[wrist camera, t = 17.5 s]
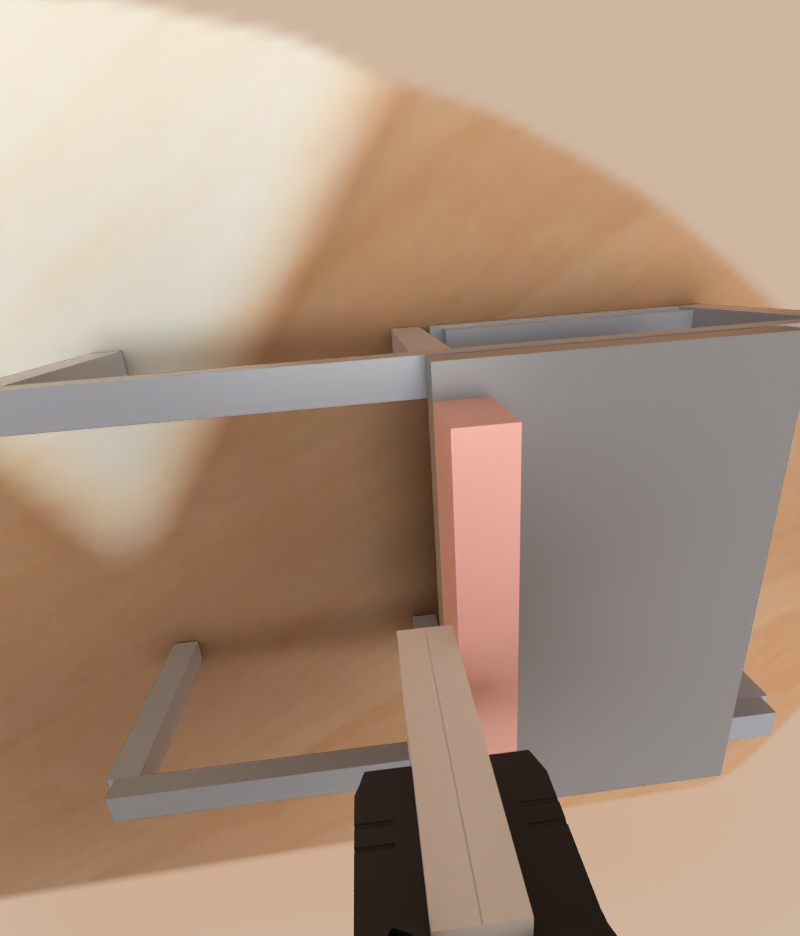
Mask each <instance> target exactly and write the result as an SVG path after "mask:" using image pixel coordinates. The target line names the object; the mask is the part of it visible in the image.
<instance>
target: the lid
mask: <svg viewBox="0 0 800 936" xmlns="http://www.w3.org/2000/svg"><path fill="white" fill-rule="evenodd" d="M425 357H426V376H427V395H428V414H429V433H430V452H431V471H432V490H433V509H434V528H435V547H436V566H437V585H438V604H439V623H440V626H444V625H452V626H453V630H454V633H455V637H456V640H457V644H458V647H459V650H460V654H461V658H462V661H463V665H464V668H465V672H466V676H467V679H468V683H469V686H470V690H471V693H472V697H473V701H474V704H475V708H476V711H477V715H478V719H479V722H480V726H481V729H482V733H483V737H484V740H485V744H486V747H487V751H488V754H489V755H490V754H498V753H506V752H514V751H522V750H529V751H530V752H531V753H532V754H533V755H534V756H535V757H536V759H537V760H538V761H539V762H540V763H541V764H542V766H543V767H544V768H545V769H546V770H547V772H548V775H549V777H550V780H551V782H552V785H553V788H554V790H555V793H556V795H557V798H558V797H565V796H573V795H580V794H587V793H595V792H602V791H609V790H617V789H624V788H631V787H639V786H646V785H653V784H661V783H668V782H675V781H683V780H690V779H697V778H705V777H712V776H719V775H721V770H722V765H723V761H724V756H725V751H726V747H727V742H728V737H729V733H730V728H731V723H732V719H733V714H734V709H735V705H736V700H737V695H738V691H739V686H740V681H741V677H742V672H743V667H744V663H745V658H746V653H747V649H748V644H749V639H750V635H751V630H752V625H753V621H754V616H755V611H756V607H757V602H758V597H759V593H760V588H761V583H762V579H763V574H764V569H765V565H766V560H767V555H768V551H769V546H770V541H771V537H772V532H773V527H774V523H775V518H776V513H777V509H778V504H779V499H780V495H781V490H782V485H783V481H784V476H785V471H786V467H787V462H788V457H789V453H790V448H791V444H792V439H793V434H794V430H795V425H796V420H797V416H798V411H799V406H800V327H792V326H776V327H764V328H752V329H741V330H729V331H717V332H705V333H694V334H682V335H670V336H658V337H647V338H635V339H623V340H611V341H600V342H588V343H576V344H564V345H553V346H541V347H529V348H517V349H506V350H494V351H482V352H470V353H458V354H447V355H435V356H425Z"/></svg>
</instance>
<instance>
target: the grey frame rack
mask: <svg viewBox="0 0 800 936" xmlns="http://www.w3.org/2000/svg"><path fill="white" fill-rule="evenodd" d="M776 326H792V327H800V310H789V309H773V308H757V307H741V306H726V305H710V304H688V305H676V306H663V307H651V308H639V309H627V310H614V311H602V312H590V313H578V314H566V315H553V316H541V317H529V318H517V319H504V320H492V321H480V322H468V323H455V324H443V325H431V326H428V332H426V331H425V330H423V329H422V328H420V327H406V328H394V329H391V338H392V351H393V353H391V354H379V355H367V356H355V357H343V358H331V359H319V360H308V361H296V362H284V363H272V364H260V365H248V366H237V367H225V368H213V369H201V370H189V371H177V372H166V373H154V374H142V375H130V376H128V373H127V369H126V365H125V362H124V358H123V354H122V351H113V352H100V353H91V354H87V355H83V356H80V357H76V358H72V359H69V360H65V361H61V362H58V363H54V364H50V365H46V366H43V367H39V368H35V369H32V370H28V371H24V372H21V373H17V374H13V375H10V376H6V377H2V378H0V437H2V436H13V435H24V434H35V433H46V432H58V431H69V430H80V429H91V428H102V427H113V426H124V425H136V424H147V423H158V422H169V421H180V420H191V419H202V418H214V417H225V416H236V415H247V414H258V413H269V412H280V411H291V410H303V409H314V408H325V407H336V406H347V405H358V404H369V403H381V402H392V401H403V400H414V399H425V398H428V395H427V376H426V357H425V356H435V355H447V354H458V353H470V352H482V351H494V350H506V349H517V348H529V347H541V346H553V345H564V344H576V343H588V342H600V341H611V340H623V339H635V338H647V337H658V336H670V335H682V334H694V333H705V332H717V331H729V330H741V329H752V328H764V327H776ZM435 626H438V625H437V621H436V617H435V614H430V615H422V616H413V629H417V628H426V627H435ZM202 660H203V659H202V655H201V651H200V647H199V644H198V641H194V642H185V643H176V644H174V645H173V647H172V649H171V651H170V653H169V655H168V657H167V659H166V661H165V663H164V665H163V667H162V669H161V671H160V673H159V675H158V677H157V679H156V681H155V683H154V685H153V687H152V689H151V691H150V693H149V695H148V697H147V699H146V701H145V704H144V706H143V708H142V710H141V712H140V714H139V716H138V718H137V720H136V722H135V724H134V726H133V728H132V730H131V732H130V734H129V736H128V738H127V740H126V742H125V744H124V746H123V748H122V750H121V752H120V754H119V756H118V758H117V760H116V762H115V764H114V766H113V768H112V770H111V772H110V774H109V776H108V778H107V783H108V786H109V788H110V790H109V792H108V794H107V796H106V798H105V802H106V804H107V807H108V809H109V812H110V814H111V817H112V819H113V822H121V821H129V820H136V819H144V818H151V817H159V816H166V815H174V814H181V813H189V812H196V811H204V810H212V809H219V808H227V807H234V806H242V805H249V804H257V803H264V802H272V801H279V800H287V799H294V798H302V797H310V796H317V795H325V794H332V793H340V792H347V791H355V790H357V789H358V787H359V784H360V782H361V779H362V777H363V774H364V772H367V771H375V770H382V769H390V768H398V767H406V766H410V761H409V752H408V743H407V742H401V743H393V744H385V745H377V746H370V747H362V748H354V749H346V750H338V751H331V752H323V753H315V754H307V755H299V756H292V757H284V758H276V759H268V760H260V761H252V762H245V763H237V764H229V765H221V766H213V767H206V768H198V769H190V770H182V771H174V772H166V773H159V774H157V772H158V770H159V767H160V765H161V762H162V760H163V757H164V755H165V752H166V750H167V747H168V745H169V742H170V740H171V737H172V735H173V732H174V730H175V727H176V725H177V722H178V720H179V717H180V715H181V712H182V710H183V707H184V705H185V702H186V700H187V697H188V695H189V692H190V690H191V687H192V685H193V682H194V680H195V677H196V675H197V672H198V670H199V667H200V665H201V662H202ZM766 699H767V695H766V694H765V693H764V692H763V691H762V690H761V689H760V688H759V687H758V686H757V685H756V684H755V683H754V682H753V681H752V680H751V679H750V678H749V677H748V676H747V675H746V674H745V673H744V672H742V677H741V681H740V686H739V691H738V695H737V700H736V705H735V709H734V714H733V719H732V723H731V728H730V733H729V737H728V741H732V740H739V739H747V738H755V737H762V736H770V733H771V729H772V725H773V721H774V717H775V714H776V712H775V711H774V710H773V709H772V708H771V707H770V706H769V705H768V704H767V703H766Z"/></svg>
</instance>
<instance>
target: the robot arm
mask: <svg viewBox="0 0 800 936" xmlns="http://www.w3.org/2000/svg"><path fill="white" fill-rule="evenodd" d="M397 640H398V651H399V662H400V673H401V684H402V695H403V706H404V715H405V725H406V734H407V743H408V752H409V761H410V766H406V767H398V768H390V769H382V770H375V771H367V772H364V774H363V777H362V779H361V782H360V784H359V787H358V789H357V792H356V794H355V804H354V826H355V830H354V850H355V854H354V936H617V935H616V934H615V932H614V931H613V930H612V928H611V927H610V926H609V924H608V923H607V921H606V918H605V916H604V914H603V912H602V911H601V909H600V906H599V903H598V901H597V898H596V896H595V893H594V890H593V888H592V885H591V883H590V880H589V878H588V875H587V872H586V870H585V867H584V865H583V862H582V860H581V857H580V855H579V852H578V849H577V847H576V844H575V842H574V839H573V837H572V834H571V832H570V829H569V826H568V824H567V823H566V820H565V816H564V813H563V811H562V808H561V806H560V803H559V802H558V800H557V795H556V793H555V790H554V788H553V785H552V782H551V780H550V777H549V775H548V772H547V770H546V769H545V768H544V767H543V766H542V764H541V763H540V762H539V761H538V760H537V759H536V757H535V756H534V755H533V754H532V753H531V752H530V751H529V750H522V751H514V752H506V753H498V754H490V755H489V754H488V751H487V747H486V744H485V740H484V737H483V733H482V729H481V726H480V722H479V719H478V715H477V711H476V708H475V704H474V701H473V697H472V693H471V690H470V686H469V683H468V679H467V676H466V672H465V668H464V665H463V661H462V658H461V654H460V650H459V647H458V644H457V640H456V637H455V633H454V630H453V626H452V625H444V626H435V627H426V628H417V629H408V630H400V631H397Z"/></svg>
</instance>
